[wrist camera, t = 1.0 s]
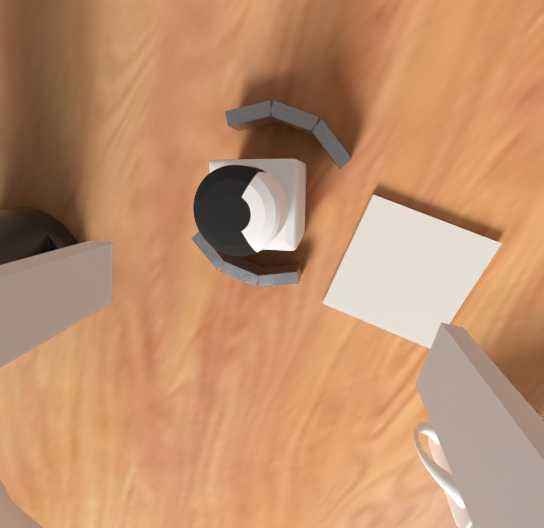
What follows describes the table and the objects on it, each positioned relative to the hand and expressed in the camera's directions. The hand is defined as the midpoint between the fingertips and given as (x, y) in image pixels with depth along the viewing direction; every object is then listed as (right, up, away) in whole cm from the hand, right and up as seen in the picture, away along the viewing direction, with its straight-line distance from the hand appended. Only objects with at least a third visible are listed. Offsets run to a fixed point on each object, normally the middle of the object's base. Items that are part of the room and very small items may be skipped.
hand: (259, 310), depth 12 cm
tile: (+13, +1, +18) cm, 22 cm away
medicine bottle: (0, +8, +19) cm, 21 cm away
